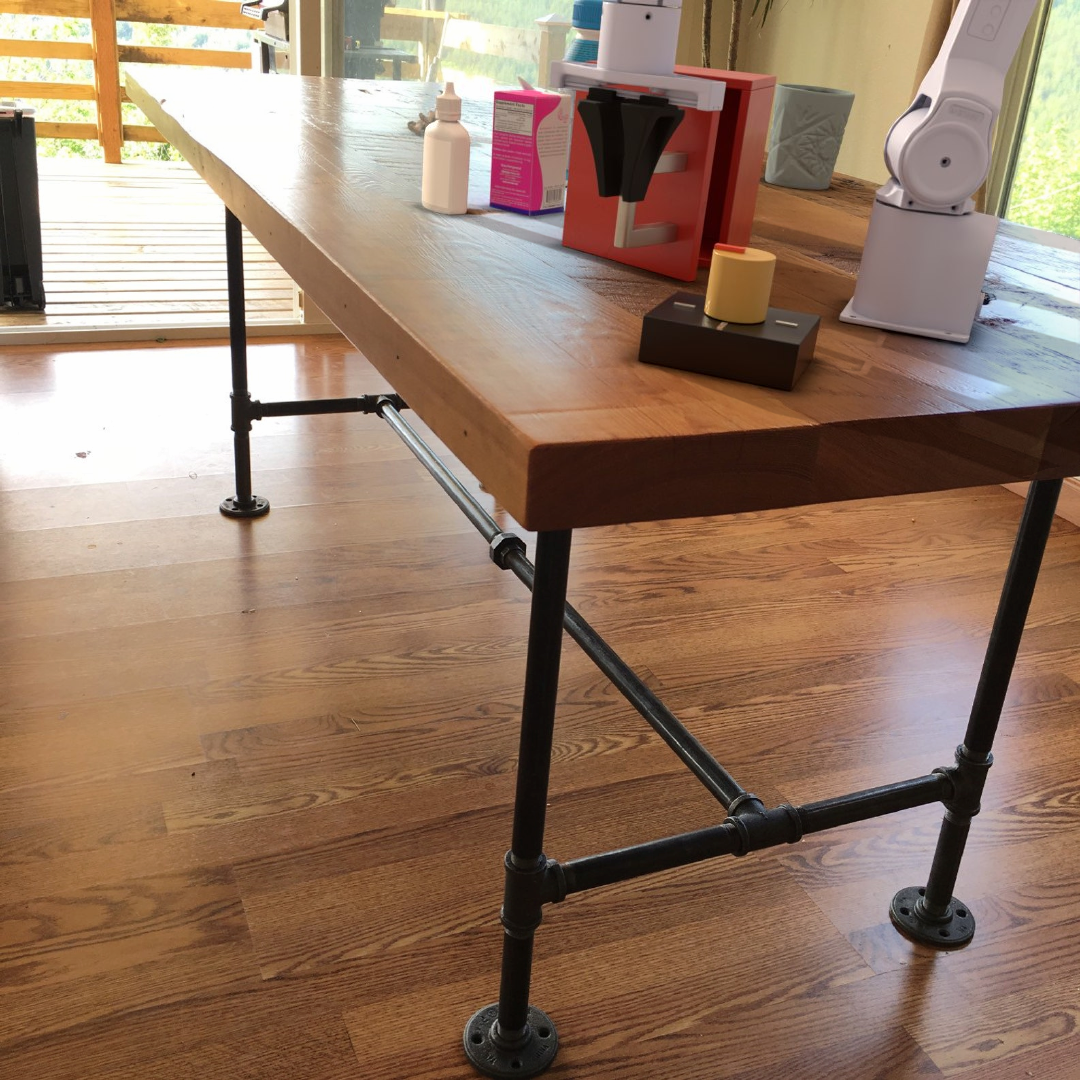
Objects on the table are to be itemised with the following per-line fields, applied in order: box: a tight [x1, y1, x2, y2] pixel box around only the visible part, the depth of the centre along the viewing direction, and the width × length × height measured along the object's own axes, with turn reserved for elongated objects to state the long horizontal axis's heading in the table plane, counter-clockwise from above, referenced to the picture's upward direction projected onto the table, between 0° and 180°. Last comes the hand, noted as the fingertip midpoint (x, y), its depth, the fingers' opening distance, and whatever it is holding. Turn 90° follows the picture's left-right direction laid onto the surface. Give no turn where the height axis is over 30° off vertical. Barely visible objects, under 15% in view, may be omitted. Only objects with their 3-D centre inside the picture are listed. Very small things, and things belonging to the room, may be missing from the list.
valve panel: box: [637, 290, 822, 392], centre depth 74 cm, size 10×8×3 cm
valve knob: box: [704, 243, 777, 323], centre depth 72 cm, size 4×4×4 cm
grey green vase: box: [764, 83, 856, 191], centre depth 147 cm, size 10×10×12 cm
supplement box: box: [488, 89, 571, 217], centre depth 114 cm, size 6×6×12 cm
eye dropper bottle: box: [421, 81, 471, 216], centre depth 110 cm, size 4×6×12 cm
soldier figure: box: [406, 89, 444, 136], centre depth 166 cm, size 8×5×12 cm
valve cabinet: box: [586, 60, 778, 269], centre depth 101 cm, size 10×15×16 cm
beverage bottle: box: [558, 0, 616, 187], centre depth 130 cm, size 8×8×20 cm
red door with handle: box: [561, 84, 720, 283], centre depth 92 cm, size 8×15×15 cm, turn 45°
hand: (621, 198), depth 87 cm, fingers closed
